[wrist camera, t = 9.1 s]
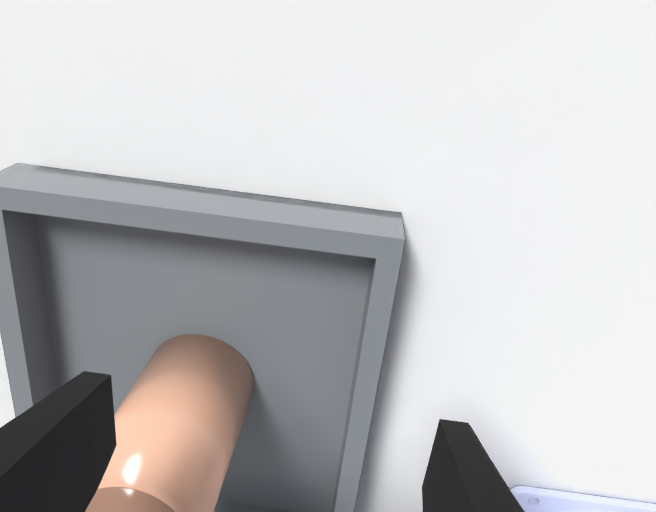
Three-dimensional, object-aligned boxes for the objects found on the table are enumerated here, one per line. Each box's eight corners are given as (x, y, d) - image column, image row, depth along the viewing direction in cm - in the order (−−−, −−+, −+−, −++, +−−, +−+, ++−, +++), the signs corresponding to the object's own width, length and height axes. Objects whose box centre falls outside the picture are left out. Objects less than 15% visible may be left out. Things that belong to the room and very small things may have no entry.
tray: (401, 212, 19) (405, 239, 17) (345, 519, 26) (343, 565, 24) (17, 163, 20) (-27, 183, 18) (61, 480, 27) (34, 523, 24)
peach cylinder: (258, 344, 21) (205, 491, 15) (249, 427, 23) (199, 588, 17) (149, 325, 22) (51, 462, 15) (149, 409, 24) (62, 562, 17)
